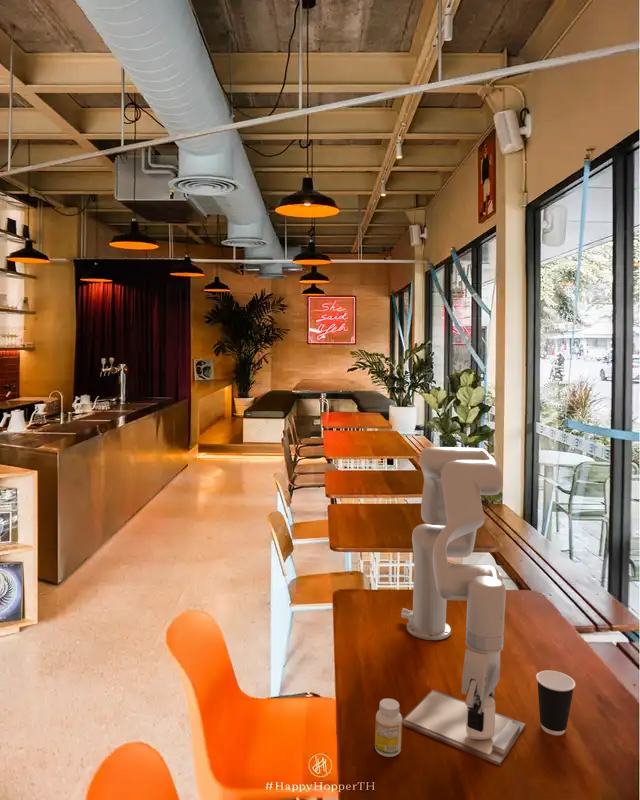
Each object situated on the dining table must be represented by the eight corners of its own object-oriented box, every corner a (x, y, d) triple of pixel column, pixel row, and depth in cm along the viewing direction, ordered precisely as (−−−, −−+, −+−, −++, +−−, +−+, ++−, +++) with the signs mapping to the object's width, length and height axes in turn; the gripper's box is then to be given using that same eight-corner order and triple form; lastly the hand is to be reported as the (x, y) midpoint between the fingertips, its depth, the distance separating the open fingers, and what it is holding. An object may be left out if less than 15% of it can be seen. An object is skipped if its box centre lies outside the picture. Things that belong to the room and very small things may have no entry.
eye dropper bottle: (492, 744, 125) (495, 688, 124) (464, 737, 127) (467, 682, 126) (494, 732, 129) (497, 677, 128) (467, 725, 131) (470, 671, 130)
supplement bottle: (391, 761, 121) (393, 714, 120) (369, 749, 124) (370, 704, 124) (406, 748, 125) (407, 703, 124) (384, 737, 128) (385, 693, 128)
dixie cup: (580, 737, 130) (583, 687, 129) (547, 742, 128) (550, 691, 127) (558, 715, 138) (560, 668, 137) (526, 719, 136) (528, 672, 135)
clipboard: (400, 724, 133) (400, 717, 133) (432, 691, 146) (432, 685, 146) (499, 765, 120) (500, 757, 120) (525, 726, 133) (525, 719, 133)
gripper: (482, 618, 135) (478, 697, 137) (450, 648, 122) (446, 735, 123) (515, 628, 131) (511, 709, 132) (486, 660, 117) (482, 750, 119)
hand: (480, 721), depth 128 cm, fingers closed on eye dropper bottle, 4 cm apart
